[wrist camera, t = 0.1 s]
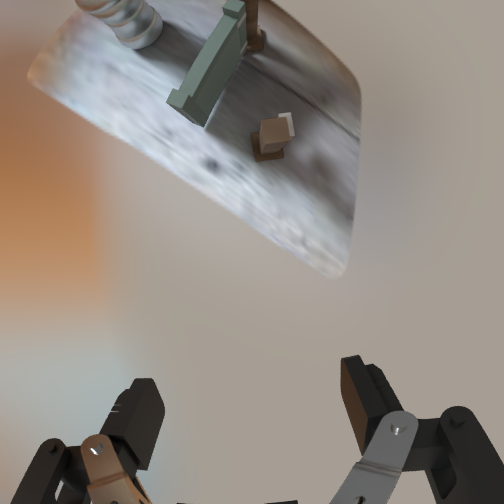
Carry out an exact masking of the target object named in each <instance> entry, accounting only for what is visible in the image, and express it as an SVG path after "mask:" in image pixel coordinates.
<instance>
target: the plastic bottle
mask: <svg viewBox="0 0 504 504" xmlns="http://www.w3.org/2000/svg"><path fill="white" fill-rule="evenodd" d="M75 2H76V4H77V6H78V8H79V9H81V10H82V11H84V12H86V13H88V14H90V15H92V16H94V17H96V18H98V19H100V20H101V21H102V22H104V23H105V24H107V25H108V26H109V27H110V28H111V29H112V31H113V32H114V33H115V35H116V37H117V39H118V40H119V42H120V43H121V44H122V45H124V46H126V47H128V48H131V49H141V48H144V47H147V46H149V45H150V44H152V43H153V42H154V41H155V40H156V39H157V38H158V37H159V35H160V34H161V31H162V28H163V23H162V18H161V16H160V14H159V13H158V12H157V11H156V10H155V9H154V8H153V7H151V6H149V5H148V3H147V2H146V1H145V0H75Z"/></svg>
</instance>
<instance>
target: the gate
mask: <svg viewBox="0 0 504 504" xmlns="http://www.w3.org/2000/svg"><path fill="white" fill-rule="evenodd" d="M222 8H223V13H224V15H223V17H222V18H221V20H220V21H219V23H218V24H217V26H216V27H215V29H214V30H213V32H212V33H211V35H210V37H209V38H208V40H207V41H206V43H205V45H204V46H203V48H202V50H201V51H200V53H199V55H198V56H197V58H196V60H195V61H194V63H193V65H192V67H191V68H190V70H189V72H188V74H187V75H186V77H185V79H184V81H183V83H182V85H181V86H180V88H179V90H176V89H172V91H171V93H170V95H169V97H168V99H167V101H166V103H167V104H169V105H170V106H171V107H173V108H174V109H175V110H176V111H178V112H179V113H180V114H182V115H183V116H184V117H186V118H187V119H188V120H189V121H191V122H192V123H194V124H197V125H199V126H201V127H204V126H205V124H206V122H207V120H208V118H209V115H210V113H211V111H212V109H213V107H214V106H215V104H216V102H217V100H218V98H219V96H220V94H221V92H222V91H223V89H224V87H225V85H226V83H227V81H228V80H229V78H230V76H231V74H232V73H233V71H234V69H235V67H236V65H237V64H238V62H239V60H240V59H241V57H242V56H243V54H244V53H245V51H246V49H247V32H246V12H245V2H243V1H239V0H227V2H226V3H225V4H224V6H223V7H222Z"/></svg>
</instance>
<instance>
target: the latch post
mask: <svg viewBox="0 0 504 504" xmlns="http://www.w3.org/2000/svg"><path fill="white" fill-rule="evenodd" d="M294 136H295V134H294V128H293V122H292V116H291V112H290V113H281V114H279V115H278V117H277V118H271V119H263V120H261V125H260V131H259V132H258V133H252V134H251V138H252V144H253V150H254V156H255V162H258V161H264V160H271V159H278V158H284V153H283V147H284V146H285V145H286V144H287V143H288V142H290V141H291V140H290V139H292V138H293V137H294Z"/></svg>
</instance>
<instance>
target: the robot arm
mask: <svg viewBox="0 0 504 504" xmlns="http://www.w3.org/2000/svg"><path fill="white" fill-rule="evenodd" d="M341 394H342V398H343V401H344V404H345V407H346V410H347V413H348V416H349V419H350V422H351V425H352V428H353V431H354V433H355V437H356V439H357V443H358V446H359V449H360V452H361V455H362V456H363V457H362V458H361V460H360V461H359V462H356V463H355V465H354V466H353V468H352V470H351V471H350V472H349V474H348V476H347V478H346V479H345V481H344V482H343V484H342V485H341V487H340V489H339V490H338V492H337V493H336V495H335V496H334V498H333V499H332V501H331V502H330V503H329V504H387V502H388V500H389V498H390V496H391V494H392V492H393V490H394V488H395V485H396V484H397V481H398V479H399V477H400V475H401V472H404V471H405V472H406V471H420V470H425V473H426V475H427V478H428V481H429V484H430V486H431V489H432V492H433V494H434V497H435V501H436V503H437V504H504V464H503V462H502V461H501V459H500V457H499V455H498V453H497V452H496V450H495V448H494V447H493V445H492V443H491V441H490V440H489V438H488V436H487V435H486V433H485V431H484V430H483V428H482V426H481V425H480V423H479V422H478V420H477V418H476V417H475V415H474V414H473V412H472V411H470V409H468V408H466V407H463V406H454V407H450V408H448V409H447V410H445V411H444V412H443V413H442V415H441V417H440V418H433V419H417V418H416V417H415V416H414V415H413V414H411V413H409V412H406V411H404V409H403V408H402V406H401V404H400V403H399V400H398V399H397V397H396V395H395V393H394V391H393V389H392V388H391V386H390V384H389V382H388V381H387V380H386V377H385V375H384V374H383V372H382V370H381V369H380V368H378V367H377V366H375V365H374V364H369V365H364V363H363V361H362V359H361V357H360V356H359V355H355V356H351V357H345V358H342V359H341ZM164 415H165V407H164V403H163V401H162V398H161V396H160V394H159V391H158V389H157V387H156V385H155V382H154V380H153V379H152V378H136V379H134V381H133V383H132V385H131V387H130V389H126V390H125V391H123V392H122V393H121V394H120V395H119V396H118V398H117V400H116V402H115V404H114V406H113V407H112V409H111V412H110V413H109V415H108V417H107V419H106V421H105V423H104V425H103V427H102V429H101V431H100V433H99V434H96V435H92V436H89V437H88V438H86V439H85V440H84V441H83V443H82V444H81V446H70V447H66V446H65V444H64V443H63V442H62V441H61V440H60V439H57V438H52V439H48V440H46V441H45V442H43V443H42V444H41V445H40V447H39V449H38V451H37V453H36V455H35V456H34V458H33V460H32V462H31V464H30V466H29V467H28V469H27V471H26V473H25V475H24V477H23V479H22V481H21V483H20V485H19V487H18V489H17V491H16V493H15V495H14V497H13V499H12V502H11V504H90V503H91V501H92V504H152V502H151V501H150V499H149V497H148V495H147V494H146V492H145V490H144V488H143V487H142V485H141V483H140V481H139V479H138V477H137V476H136V472H137V469H138V470H147V469H148V466H149V463H150V460H151V456H152V453H153V450H154V447H155V443H156V440H157V437H158V434H159V431H160V428H161V425H162V422H163V419H164ZM60 480H61V481H62V482H63V483H64V484H63V486H62V489H61V491H60V494H59V496H58V499H57V501H56V499H55V492H56V490H57V487H58V485H59V483H60ZM177 504H184V503H177ZM267 504H298V501H297V500H294V501H286V502H276V503H267Z"/></svg>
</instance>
